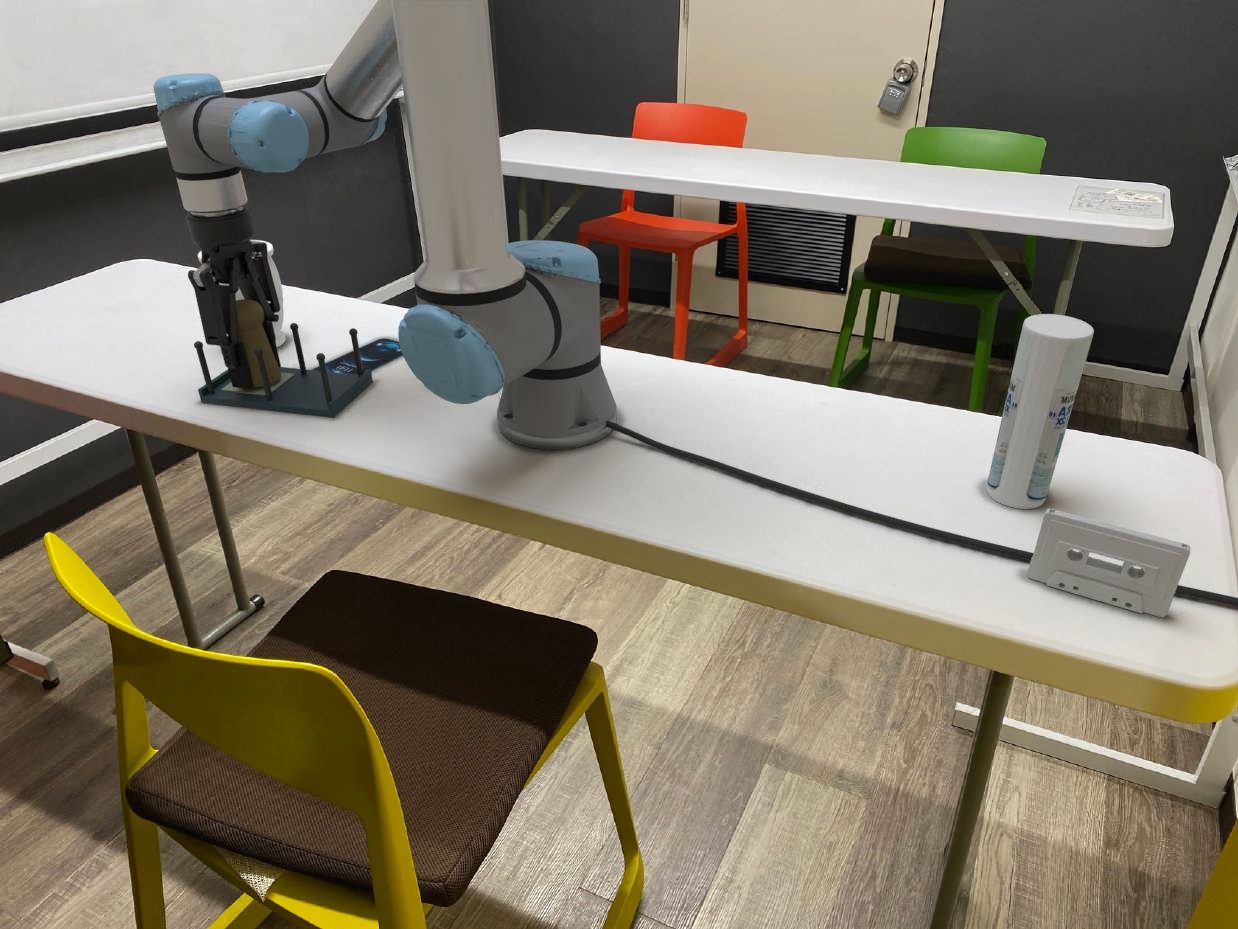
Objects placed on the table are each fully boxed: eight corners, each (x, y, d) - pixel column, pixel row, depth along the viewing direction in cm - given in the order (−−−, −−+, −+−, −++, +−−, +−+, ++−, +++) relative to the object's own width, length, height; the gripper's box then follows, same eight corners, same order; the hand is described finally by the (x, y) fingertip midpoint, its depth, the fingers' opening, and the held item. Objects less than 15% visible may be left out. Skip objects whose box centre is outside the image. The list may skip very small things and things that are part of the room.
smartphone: (419, 346, 137) (344, 382, 126) (419, 350, 137) (345, 386, 127) (382, 336, 141) (307, 371, 130) (383, 340, 141) (308, 374, 130)
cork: (227, 378, 124) (207, 302, 119) (269, 365, 128) (251, 291, 122) (247, 391, 121) (227, 314, 115) (289, 377, 124) (271, 301, 119)
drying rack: (373, 382, 127) (363, 325, 122) (333, 417, 118) (321, 357, 113) (248, 369, 131) (235, 314, 127) (201, 402, 122) (184, 344, 118)
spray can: (993, 472, 104) (1032, 309, 94) (1053, 489, 101) (1100, 322, 90) (977, 498, 99) (1016, 328, 89) (1039, 516, 96) (1086, 343, 86)
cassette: (1166, 610, 83) (1193, 542, 79) (1165, 622, 81) (1191, 553, 77) (1028, 570, 88) (1046, 504, 84) (1025, 580, 87) (1043, 514, 83)
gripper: (235, 188, 121) (272, 347, 133) (139, 228, 105) (190, 404, 117) (285, 191, 120) (317, 351, 131) (194, 231, 104) (240, 409, 116)
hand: (257, 376), depth 124 cm, fingers closed on cork, 6 cm apart
